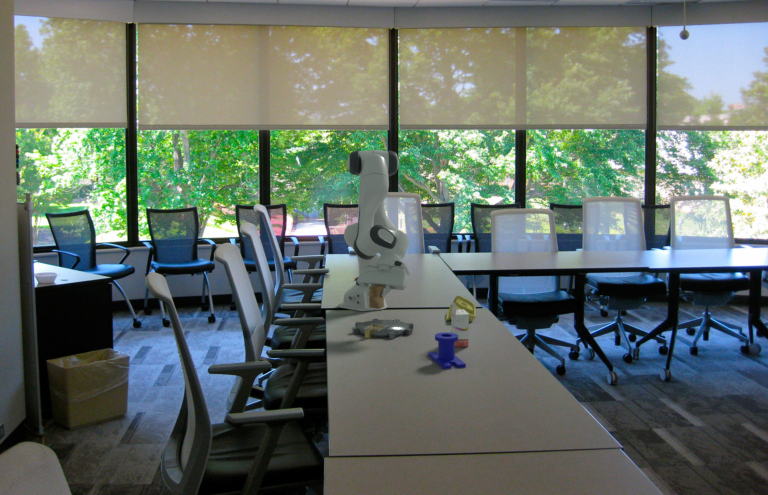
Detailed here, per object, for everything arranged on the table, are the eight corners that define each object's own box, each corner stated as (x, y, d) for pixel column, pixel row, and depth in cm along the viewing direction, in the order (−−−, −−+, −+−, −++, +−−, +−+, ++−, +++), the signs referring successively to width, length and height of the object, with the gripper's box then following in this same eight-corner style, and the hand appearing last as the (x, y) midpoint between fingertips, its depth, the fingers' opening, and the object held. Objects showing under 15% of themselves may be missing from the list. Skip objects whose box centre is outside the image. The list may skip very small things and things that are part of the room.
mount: (428, 356, 207) (428, 330, 206) (449, 354, 209) (449, 329, 208) (443, 369, 192) (443, 342, 191) (465, 367, 194) (466, 340, 193)
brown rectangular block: (369, 307, 232) (369, 286, 232) (374, 305, 236) (374, 285, 235) (378, 308, 230) (378, 287, 230) (383, 306, 234) (383, 285, 233)
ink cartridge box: (469, 347, 217) (469, 305, 215) (455, 347, 216) (455, 306, 214) (463, 340, 225) (464, 300, 223) (450, 340, 225) (450, 301, 223)
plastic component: (475, 317, 251) (453, 306, 252) (467, 332, 253) (445, 321, 253) (475, 303, 270) (455, 293, 271) (468, 317, 272) (447, 307, 273)
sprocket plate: (340, 334, 234) (340, 326, 234) (371, 320, 255) (371, 313, 255) (395, 342, 223) (395, 334, 222) (424, 327, 244) (424, 320, 243)
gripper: (362, 260, 242) (349, 289, 235) (408, 263, 232) (396, 293, 225) (368, 270, 247) (355, 298, 239) (413, 273, 237) (402, 303, 229)
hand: (375, 296), depth 232 cm, fingers closed on brown rectangular block, 4 cm apart
